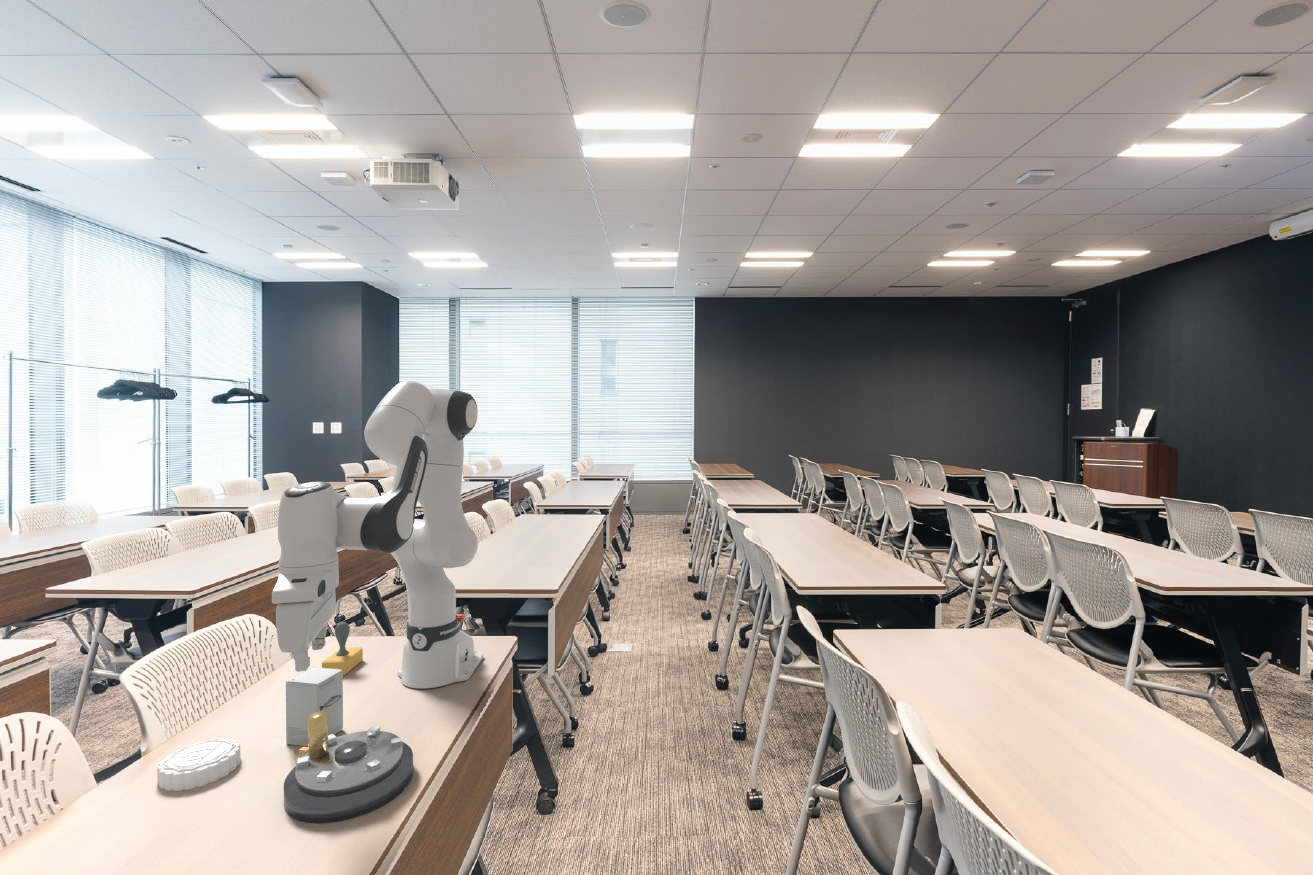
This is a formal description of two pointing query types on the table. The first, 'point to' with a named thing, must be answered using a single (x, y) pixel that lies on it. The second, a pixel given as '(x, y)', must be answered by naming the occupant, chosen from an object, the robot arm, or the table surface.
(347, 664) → the rubber stamp
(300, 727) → the supplement box
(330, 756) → the studded round base
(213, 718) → the table surface
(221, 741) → the mooncake
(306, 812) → the grey round platform
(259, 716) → the table surface
